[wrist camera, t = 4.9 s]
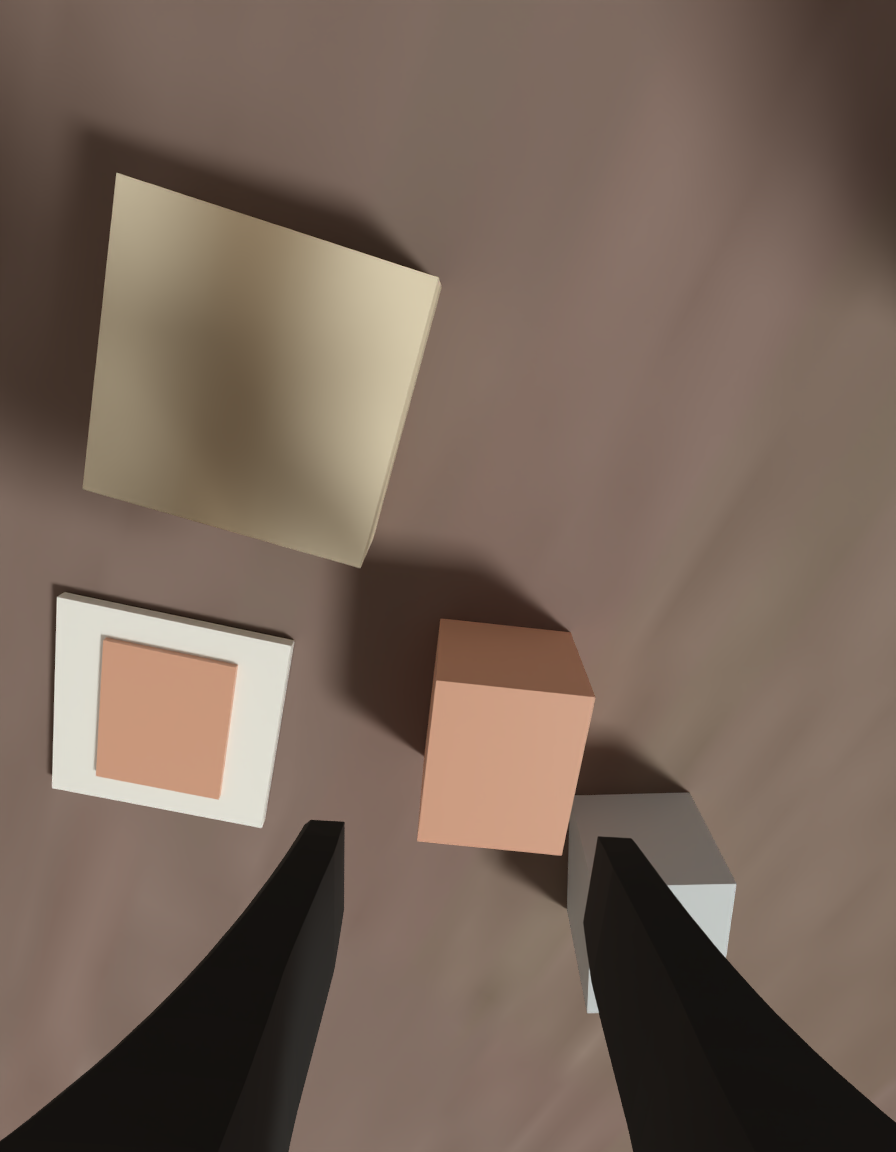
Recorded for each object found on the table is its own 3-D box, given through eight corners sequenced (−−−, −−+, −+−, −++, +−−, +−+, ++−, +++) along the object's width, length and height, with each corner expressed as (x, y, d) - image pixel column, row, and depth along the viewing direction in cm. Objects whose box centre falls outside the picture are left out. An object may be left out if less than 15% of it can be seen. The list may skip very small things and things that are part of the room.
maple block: (441, 287, 17) (438, 277, 14) (374, 534, 19) (360, 568, 17) (175, 201, 16) (116, 172, 14) (139, 466, 19) (82, 489, 16)
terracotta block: (569, 630, 20) (595, 697, 16) (543, 766, 22) (561, 855, 18) (440, 616, 20) (436, 680, 16) (424, 754, 22) (417, 840, 18)
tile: (294, 640, 20) (289, 649, 20) (264, 819, 22) (259, 831, 22) (64, 591, 20) (53, 599, 19) (59, 780, 22) (48, 791, 21)
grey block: (688, 790, 22) (736, 883, 18) (676, 904, 24) (718, 1010, 20) (569, 793, 22) (592, 887, 18) (566, 906, 24) (587, 1013, 20)
